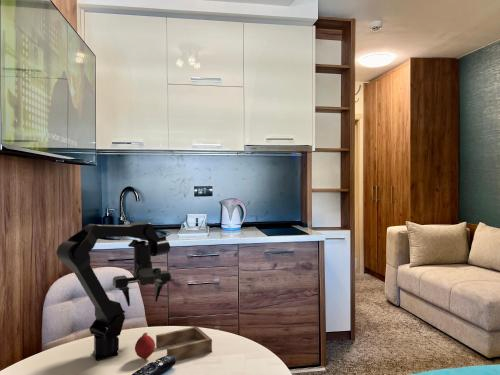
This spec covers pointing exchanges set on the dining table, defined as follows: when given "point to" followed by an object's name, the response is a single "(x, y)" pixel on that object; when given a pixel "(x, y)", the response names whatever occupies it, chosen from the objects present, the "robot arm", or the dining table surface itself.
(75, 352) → the dining table surface
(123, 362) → the dining table surface
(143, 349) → the onion
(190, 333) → the ball
